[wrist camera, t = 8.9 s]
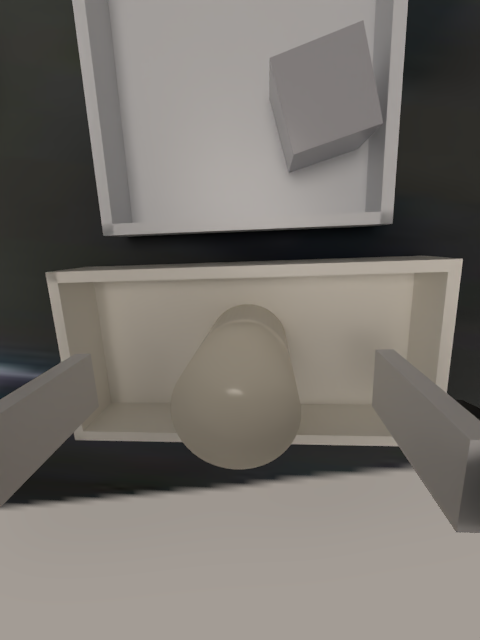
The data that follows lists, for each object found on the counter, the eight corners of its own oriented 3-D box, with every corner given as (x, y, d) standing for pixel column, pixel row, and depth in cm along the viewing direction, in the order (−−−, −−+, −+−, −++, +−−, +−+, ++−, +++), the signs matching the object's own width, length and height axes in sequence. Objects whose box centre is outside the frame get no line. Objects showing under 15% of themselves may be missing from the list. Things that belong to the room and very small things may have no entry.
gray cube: (288, 173, 18) (293, 154, 15) (269, 98, 18) (269, 58, 14) (358, 148, 18) (383, 122, 14) (341, 70, 17) (363, 20, 13)
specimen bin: (106, 407, 23) (75, 439, 20) (86, 266, 21) (45, 272, 17) (408, 410, 22) (440, 446, 18) (423, 255, 19) (462, 259, 15)
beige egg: (207, 305, 21) (164, 351, 12) (286, 303, 20) (301, 349, 11) (212, 377, 22) (176, 467, 13) (286, 377, 21) (300, 470, 13)
